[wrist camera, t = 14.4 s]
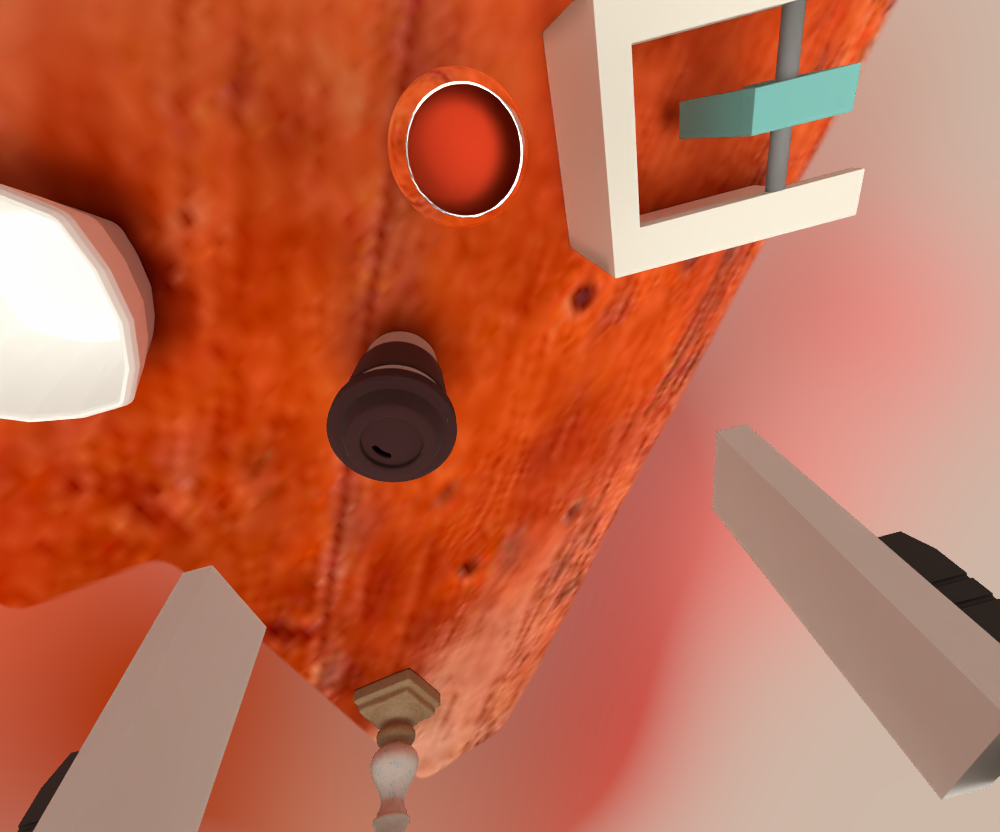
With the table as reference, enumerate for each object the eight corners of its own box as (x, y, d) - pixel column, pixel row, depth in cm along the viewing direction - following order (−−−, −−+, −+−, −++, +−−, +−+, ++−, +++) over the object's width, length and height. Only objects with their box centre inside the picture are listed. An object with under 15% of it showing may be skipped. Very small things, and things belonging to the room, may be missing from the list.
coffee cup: (432, 304, 43) (434, 369, 30) (461, 390, 48) (473, 476, 36) (335, 332, 43) (296, 408, 31) (374, 415, 49) (355, 509, 36)
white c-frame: (542, 32, 34) (591, -18, 24) (770, -29, 34) (918, -105, 24) (570, 247, 42) (615, 278, 32) (752, 198, 42) (855, 214, 32)
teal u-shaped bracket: (679, 102, 34) (755, 88, 26) (760, 82, 34) (861, 62, 26) (679, 138, 35) (751, 135, 27) (757, 119, 35) (852, 111, 27)
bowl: (-114, 144, 32) (-295, 143, 24) (161, 176, 35) (83, 184, 27) (-4, 368, 41) (-108, 422, 33) (208, 378, 44) (160, 428, 36)
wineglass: (503, 99, 36) (560, 62, 20) (493, 210, 40) (533, 249, 24) (399, 83, 34) (376, 30, 19) (399, 200, 38) (380, 234, 23)
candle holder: (409, 667, 74) (402, 863, 53) (441, 694, 79) (446, 882, 59) (353, 690, 75) (325, 891, 55) (388, 716, 81) (374, 906, 60)
